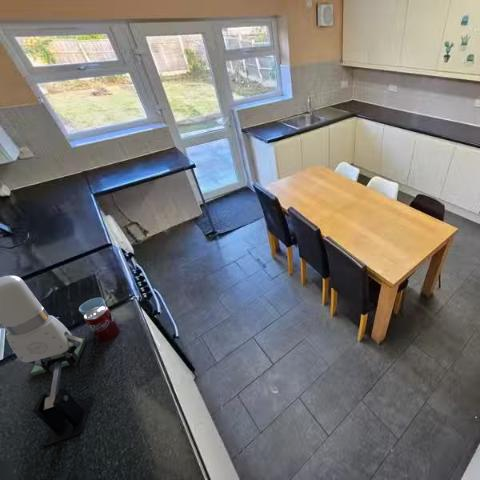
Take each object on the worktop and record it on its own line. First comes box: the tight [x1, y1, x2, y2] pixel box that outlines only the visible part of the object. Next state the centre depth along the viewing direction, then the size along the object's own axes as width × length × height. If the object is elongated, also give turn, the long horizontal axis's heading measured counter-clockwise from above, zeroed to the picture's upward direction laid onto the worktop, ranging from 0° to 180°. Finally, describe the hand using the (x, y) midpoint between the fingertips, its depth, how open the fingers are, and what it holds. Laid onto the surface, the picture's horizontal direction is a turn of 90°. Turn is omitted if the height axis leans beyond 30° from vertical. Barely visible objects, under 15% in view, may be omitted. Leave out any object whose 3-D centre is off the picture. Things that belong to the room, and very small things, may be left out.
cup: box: [78, 297, 107, 317], centre depth 104 cm, size 8×8×10 cm
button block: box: [30, 337, 89, 376], centre depth 92 cm, size 12×10×4 cm
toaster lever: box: [43, 356, 66, 411], centre depth 73 cm, size 13×4×2 cm, turn 21°
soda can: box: [83, 305, 122, 343], centre depth 98 cm, size 7×7×12 cm
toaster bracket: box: [32, 387, 94, 448], centre depth 72 cm, size 10×8×12 cm
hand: (64, 366), depth 77 cm, fingers closed on toaster lever, 4 cm apart
